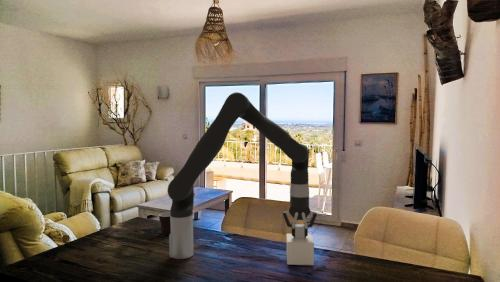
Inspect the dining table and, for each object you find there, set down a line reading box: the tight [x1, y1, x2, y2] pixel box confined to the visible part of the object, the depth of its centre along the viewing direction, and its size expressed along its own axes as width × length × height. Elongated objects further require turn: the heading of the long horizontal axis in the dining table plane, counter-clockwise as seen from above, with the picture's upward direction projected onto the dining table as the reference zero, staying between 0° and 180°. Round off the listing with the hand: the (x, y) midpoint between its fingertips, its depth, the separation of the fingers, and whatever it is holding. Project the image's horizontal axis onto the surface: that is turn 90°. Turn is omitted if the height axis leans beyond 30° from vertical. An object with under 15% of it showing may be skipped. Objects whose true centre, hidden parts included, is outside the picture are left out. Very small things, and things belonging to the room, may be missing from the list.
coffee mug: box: [158, 211, 171, 236], centre depth 171 cm, size 12×9×10 cm
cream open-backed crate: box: [286, 223, 315, 266], centre depth 135 cm, size 10×10×14 cm
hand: (299, 236), depth 134 cm, fingers closed on cream open-backed crate, 3 cm apart
